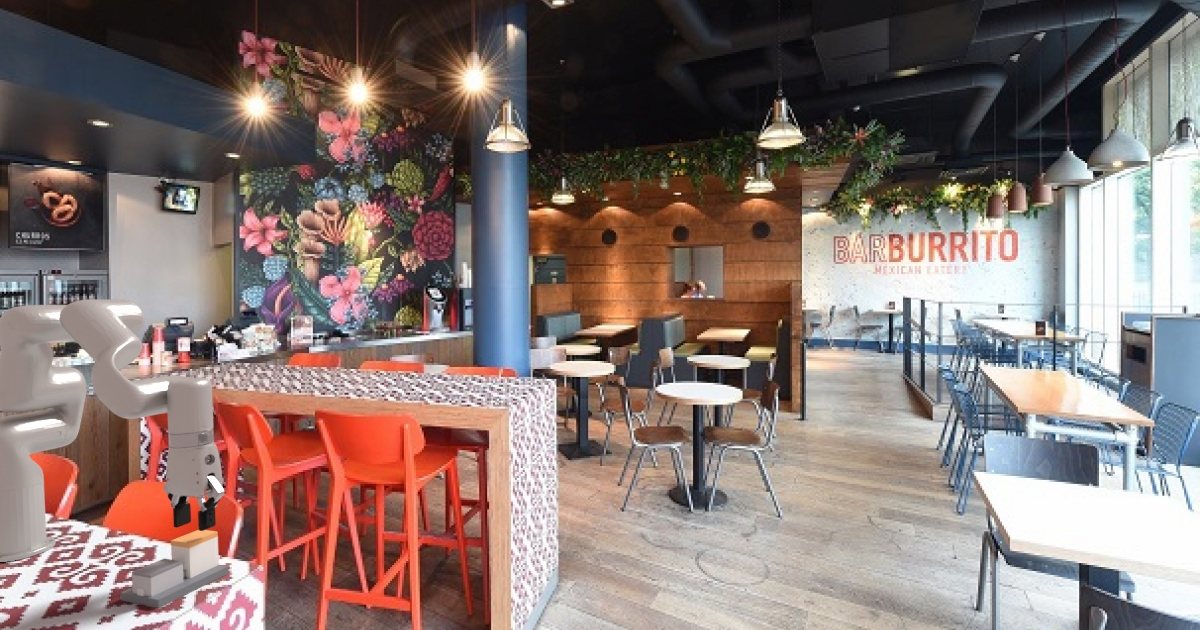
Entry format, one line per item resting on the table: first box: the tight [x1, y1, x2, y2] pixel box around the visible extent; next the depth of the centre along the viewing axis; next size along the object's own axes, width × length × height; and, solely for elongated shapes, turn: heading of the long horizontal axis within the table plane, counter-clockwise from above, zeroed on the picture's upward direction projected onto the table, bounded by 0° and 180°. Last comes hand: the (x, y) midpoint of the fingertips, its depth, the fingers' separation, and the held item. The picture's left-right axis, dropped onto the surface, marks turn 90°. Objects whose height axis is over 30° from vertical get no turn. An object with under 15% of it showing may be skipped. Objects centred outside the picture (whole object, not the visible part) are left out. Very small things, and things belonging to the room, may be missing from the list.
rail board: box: [120, 558, 229, 609], centre depth 115 cm, size 10×14×6 cm
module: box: [170, 529, 220, 578], centre depth 118 cm, size 5×6×7 cm
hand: (194, 525), depth 118 cm, fingers open, 6 cm apart
